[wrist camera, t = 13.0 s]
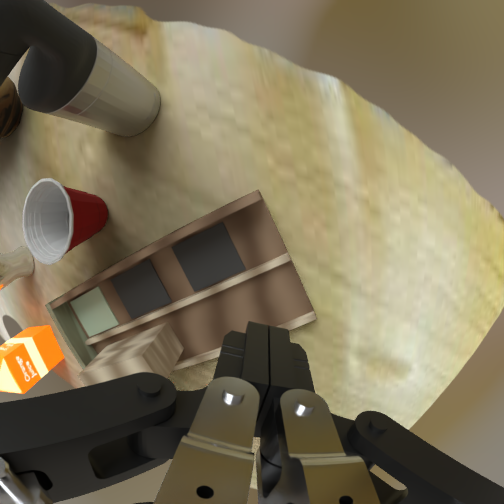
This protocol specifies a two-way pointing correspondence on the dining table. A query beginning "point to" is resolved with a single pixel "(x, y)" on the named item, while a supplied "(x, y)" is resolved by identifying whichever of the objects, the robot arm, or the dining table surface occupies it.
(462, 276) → the dining table surface
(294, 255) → the dining table surface
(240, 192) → the dining table surface
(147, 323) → the board
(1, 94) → the ceramic jug
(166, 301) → the pads
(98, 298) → the pad
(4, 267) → the beer glass
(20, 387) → the orange juice
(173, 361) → the beech block
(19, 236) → the dining table surface
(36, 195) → the plastic cup
